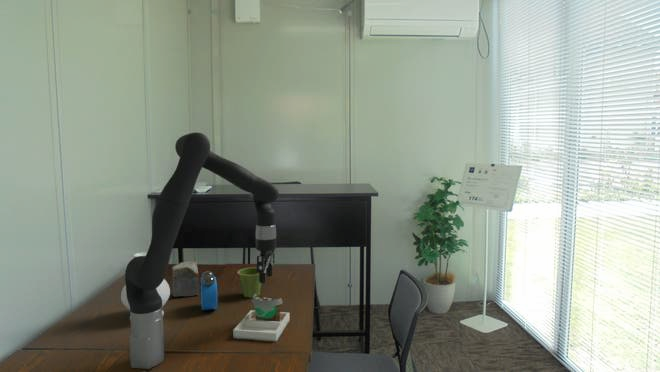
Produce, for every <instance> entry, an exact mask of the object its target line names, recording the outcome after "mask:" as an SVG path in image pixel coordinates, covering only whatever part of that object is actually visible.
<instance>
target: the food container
mask: <svg viewBox="0 0 660 372" xmlns="http://www.w3.org/2000/svg"><path fill="white" fill-rule="evenodd" d="M251 303H252V304H253V307H254V310H255V316H256V320H262V321H276V322H280V312H281V309H282V308H281V307H282V304H283V299H282V297H280V298H277V299H276V298H274V297H273V298H272V297H270V296H260V295H258V296H256V294H255V295H254V297H253V298H252V301H251Z"/></svg>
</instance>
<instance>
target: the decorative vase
mask: <svg viewBox="0 0 660 372" xmlns="http://www.w3.org/2000/svg"><path fill="white" fill-rule="evenodd" d="M147 252H148V251H142V252H138V253H137V252H136V253H135V254H133V258H135V257H138V256H146V254H147ZM156 289H157V292H158V294H159V295H160V297H161V298H162V308H163V307H164V305H165V304H166V303H167V301H168V300H169V298H170V296H171V295H170V294H171V289H170V285H169V283H168V282H167V280H166V278H164V280H163V282H162V283H161V284H160V285H159V286H158V287H157V288H156ZM120 299H121V300H120V301H121V303H122V304H123V305H124V307H126V309H127V310H128V311H130V306H129V303H128V300H127V295H126V283H125V284H124V286H123V288H122V290H121V293H120ZM164 314H165V312H164V310H163V309H162V317H163V316H164Z"/></svg>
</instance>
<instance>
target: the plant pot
mask: <svg viewBox="0 0 660 372" xmlns="http://www.w3.org/2000/svg"><path fill="white" fill-rule="evenodd" d="M261 269H262V268H261ZM237 275H238V276H239V280H240V285H241V291H242V294H243V295H242V296H243V297H244V298H249V299H253V297H254V295H255V294H256V296H260V295H261V287H262V283H260V282H259V273H257V267H244V268H241V269H239V270H238V271H237Z"/></svg>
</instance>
